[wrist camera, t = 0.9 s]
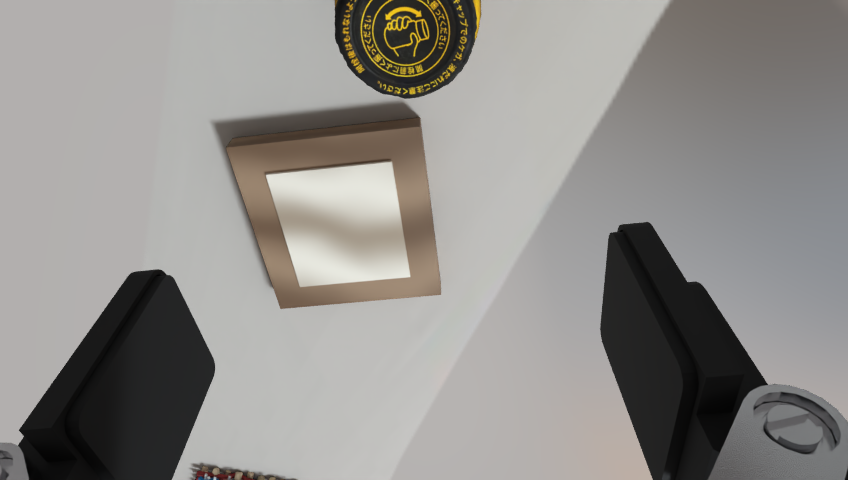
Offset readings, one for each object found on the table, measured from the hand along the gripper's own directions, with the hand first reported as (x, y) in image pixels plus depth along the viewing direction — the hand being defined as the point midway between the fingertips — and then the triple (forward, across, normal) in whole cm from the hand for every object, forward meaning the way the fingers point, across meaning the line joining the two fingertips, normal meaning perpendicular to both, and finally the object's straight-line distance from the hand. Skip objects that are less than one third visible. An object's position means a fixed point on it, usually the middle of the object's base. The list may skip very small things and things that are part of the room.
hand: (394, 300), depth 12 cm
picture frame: (+23, +6, +12) cm, 27 cm away
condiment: (+24, 0, -3) cm, 24 cm away
